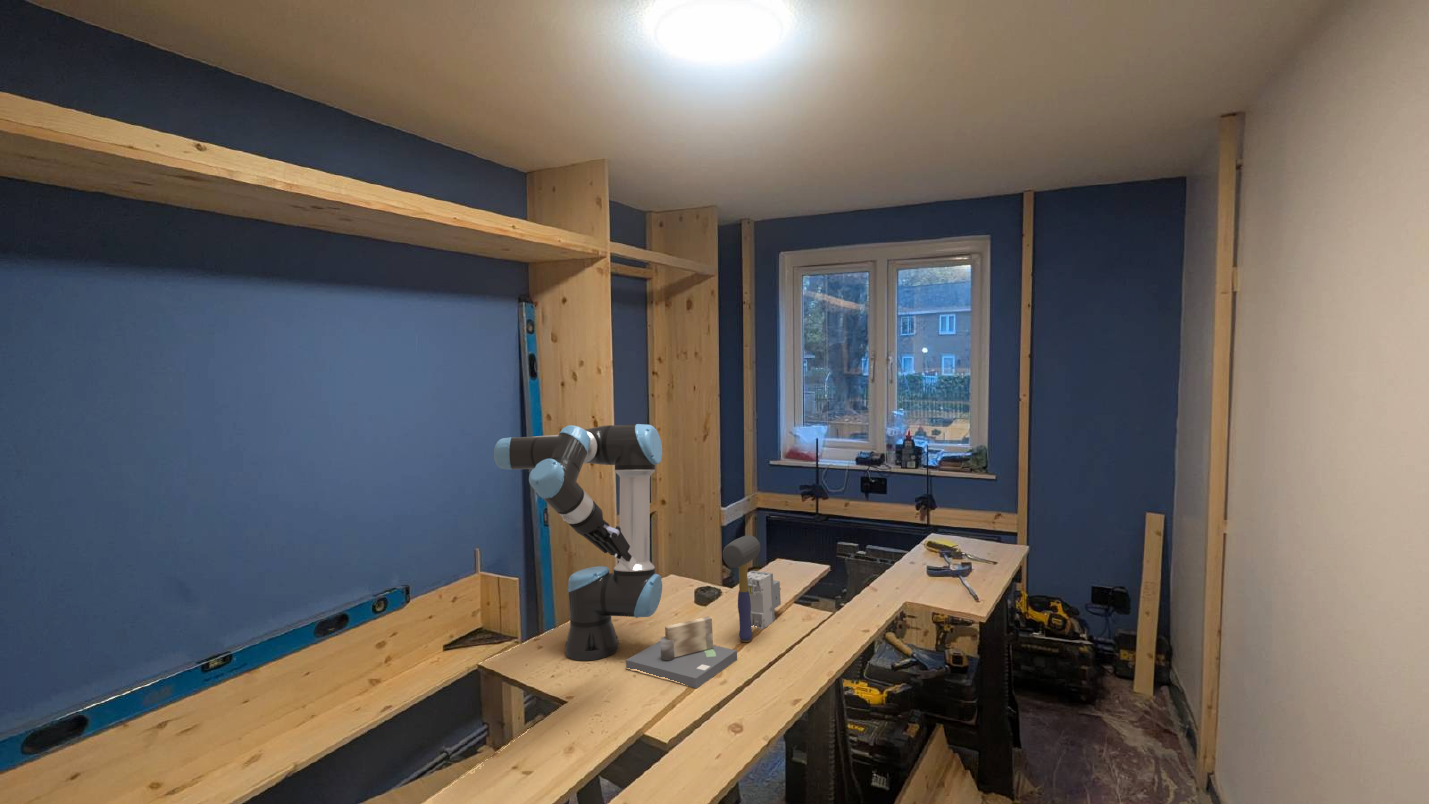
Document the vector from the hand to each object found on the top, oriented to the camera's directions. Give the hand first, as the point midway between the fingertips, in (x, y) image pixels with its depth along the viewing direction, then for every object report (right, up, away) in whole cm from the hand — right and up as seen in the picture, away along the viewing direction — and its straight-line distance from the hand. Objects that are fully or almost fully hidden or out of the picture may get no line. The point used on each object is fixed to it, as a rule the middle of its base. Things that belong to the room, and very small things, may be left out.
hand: (632, 565), depth 160 cm
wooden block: (+13, -26, +12) cm, 32 cm away
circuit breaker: (+36, -28, +41) cm, 61 cm away
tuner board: (+12, -29, +11) cm, 34 cm away
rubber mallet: (+30, -28, +25) cm, 48 cm away
